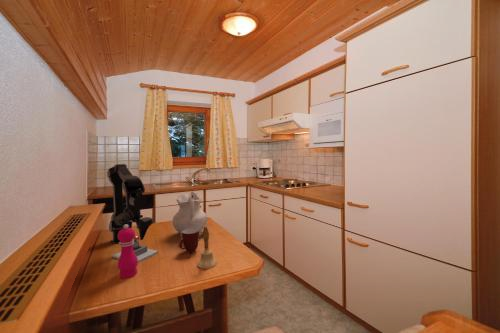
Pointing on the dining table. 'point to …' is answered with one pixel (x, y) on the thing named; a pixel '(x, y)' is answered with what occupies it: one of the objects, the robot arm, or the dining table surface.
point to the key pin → (136, 242)
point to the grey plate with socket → (140, 253)
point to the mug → (189, 239)
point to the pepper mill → (127, 253)
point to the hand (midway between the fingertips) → (135, 238)
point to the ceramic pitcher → (189, 213)
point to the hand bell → (206, 253)
